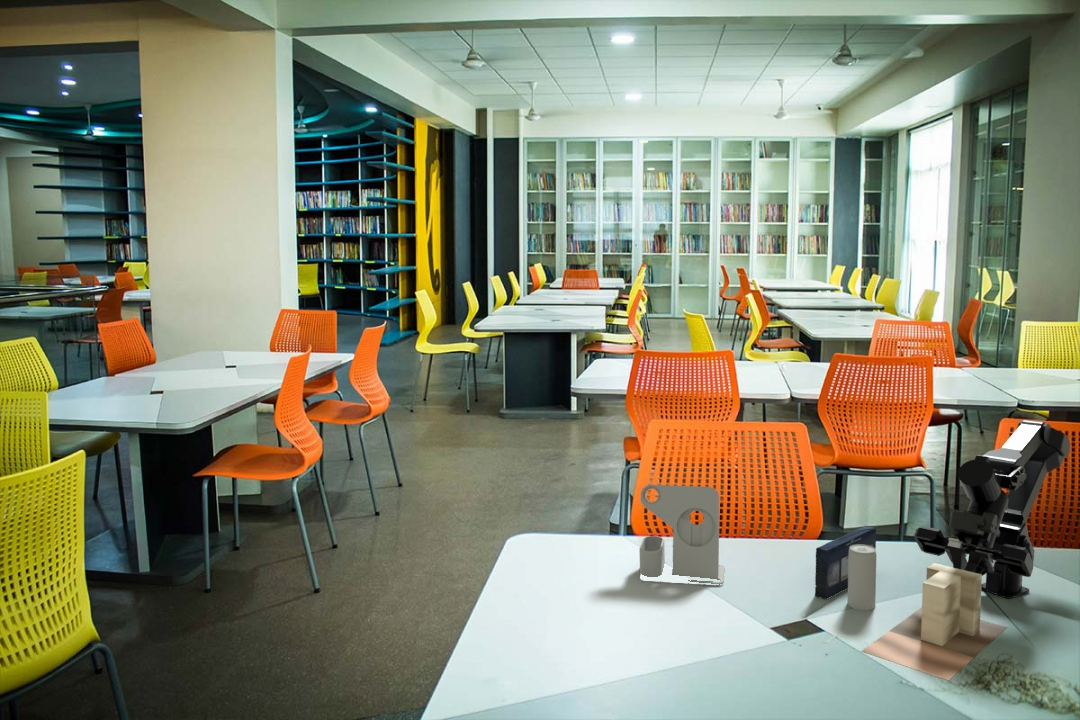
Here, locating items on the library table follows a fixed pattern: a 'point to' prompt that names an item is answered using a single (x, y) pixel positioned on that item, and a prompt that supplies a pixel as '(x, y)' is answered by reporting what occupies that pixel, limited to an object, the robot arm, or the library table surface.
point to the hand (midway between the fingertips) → (957, 592)
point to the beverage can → (862, 577)
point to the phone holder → (684, 533)
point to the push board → (932, 647)
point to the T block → (950, 603)
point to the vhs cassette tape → (838, 561)
